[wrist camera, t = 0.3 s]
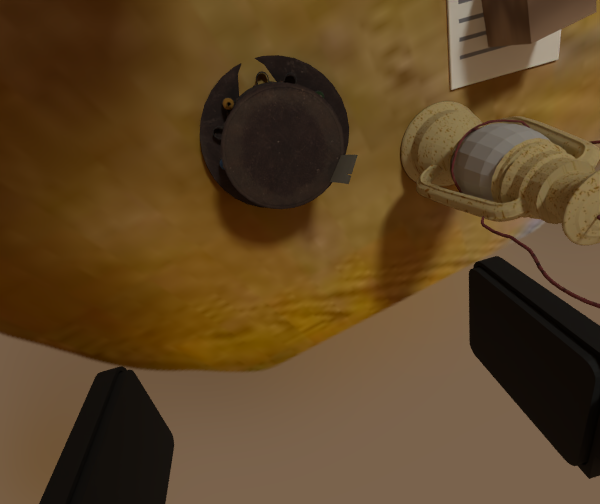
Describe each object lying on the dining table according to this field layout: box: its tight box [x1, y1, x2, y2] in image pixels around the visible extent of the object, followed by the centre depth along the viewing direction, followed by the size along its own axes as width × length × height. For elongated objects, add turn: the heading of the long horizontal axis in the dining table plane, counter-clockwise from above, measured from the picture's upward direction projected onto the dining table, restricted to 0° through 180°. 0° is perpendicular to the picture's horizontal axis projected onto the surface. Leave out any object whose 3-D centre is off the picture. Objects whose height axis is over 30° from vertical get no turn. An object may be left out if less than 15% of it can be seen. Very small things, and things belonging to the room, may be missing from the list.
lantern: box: [401, 101, 600, 308], centre depth 28 cm, size 12×10×30 cm
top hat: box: [200, 55, 357, 209], centre depth 33 cm, size 15×15×10 cm
